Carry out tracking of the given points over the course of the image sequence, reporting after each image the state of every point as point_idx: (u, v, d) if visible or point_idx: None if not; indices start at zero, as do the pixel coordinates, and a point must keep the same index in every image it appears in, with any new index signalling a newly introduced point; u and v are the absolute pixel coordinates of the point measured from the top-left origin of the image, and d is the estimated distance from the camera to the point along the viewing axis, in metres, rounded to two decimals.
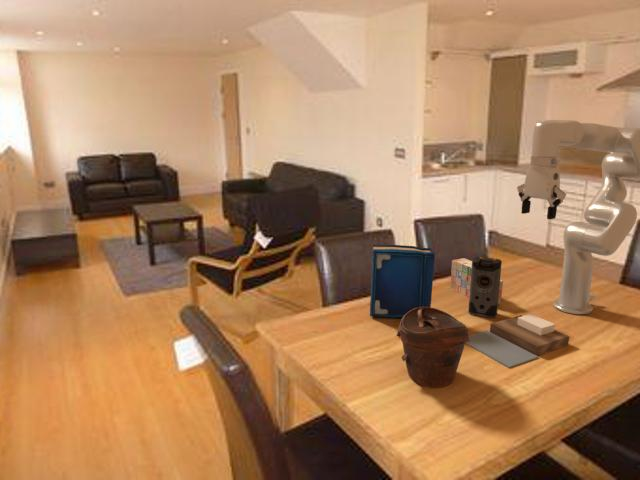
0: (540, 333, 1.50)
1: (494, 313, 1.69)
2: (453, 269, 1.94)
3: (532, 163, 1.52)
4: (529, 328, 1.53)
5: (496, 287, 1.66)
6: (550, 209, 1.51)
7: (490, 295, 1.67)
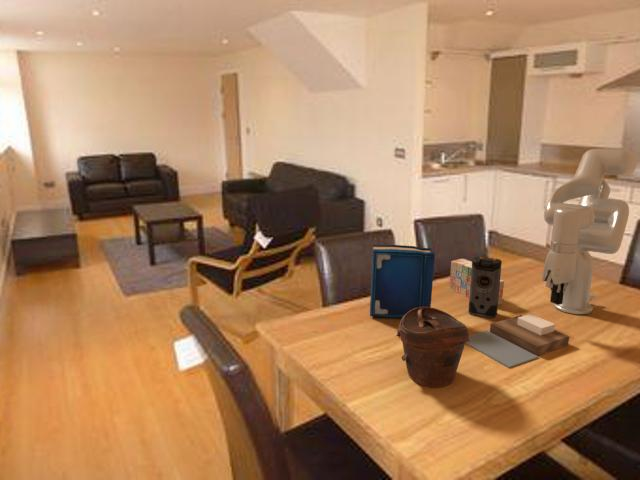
0: (540, 333, 1.50)
1: (494, 313, 1.69)
2: (452, 270, 1.94)
3: (570, 251, 1.49)
4: (529, 328, 1.53)
5: (496, 287, 1.66)
6: None
7: (490, 295, 1.67)
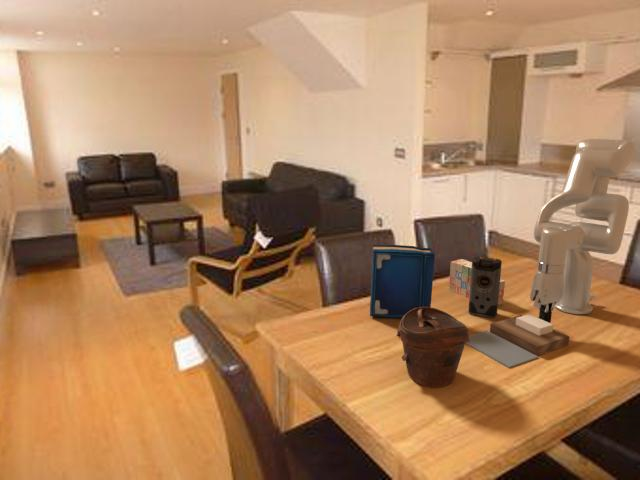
0: (538, 333, 1.50)
1: (494, 313, 1.69)
2: (452, 270, 1.93)
3: (558, 272, 1.48)
4: (527, 328, 1.53)
5: (496, 287, 1.66)
6: None
7: (490, 295, 1.67)
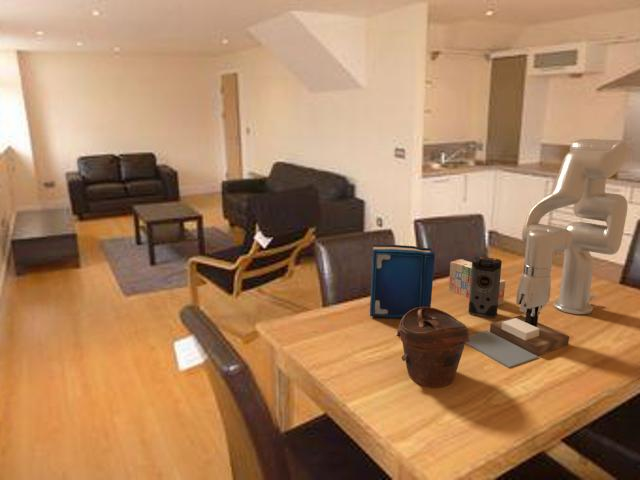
0: (524, 338, 1.47)
1: (494, 313, 1.69)
2: (452, 271, 1.92)
3: (544, 275, 1.45)
4: (513, 333, 1.50)
5: (496, 287, 1.66)
6: None
7: (490, 295, 1.67)
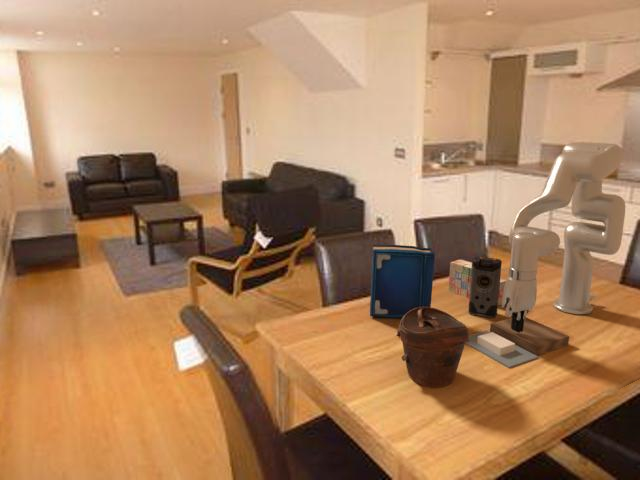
0: None
1: (494, 313, 1.69)
2: (452, 271, 1.92)
3: (529, 278, 1.43)
4: None
5: (496, 287, 1.66)
6: None
7: (490, 295, 1.67)
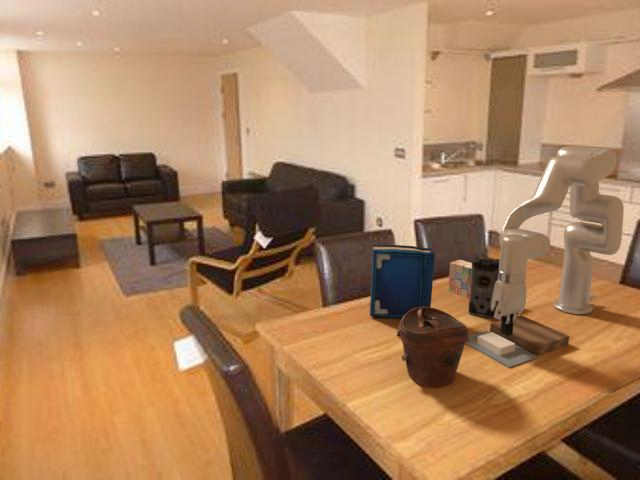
0: None
1: (494, 313, 1.69)
2: (451, 271, 1.92)
3: (518, 282, 1.41)
4: None
5: None
6: None
7: (490, 295, 1.67)
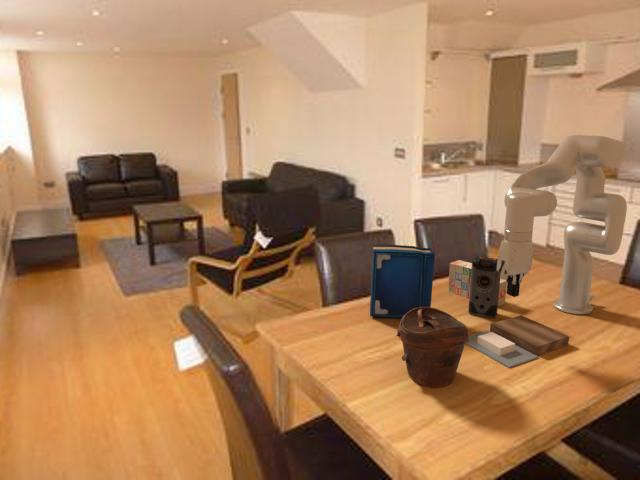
0: None
1: (494, 313, 1.69)
2: (451, 272, 1.91)
3: (524, 240, 1.38)
4: None
5: (496, 287, 1.66)
6: None
7: (490, 295, 1.67)
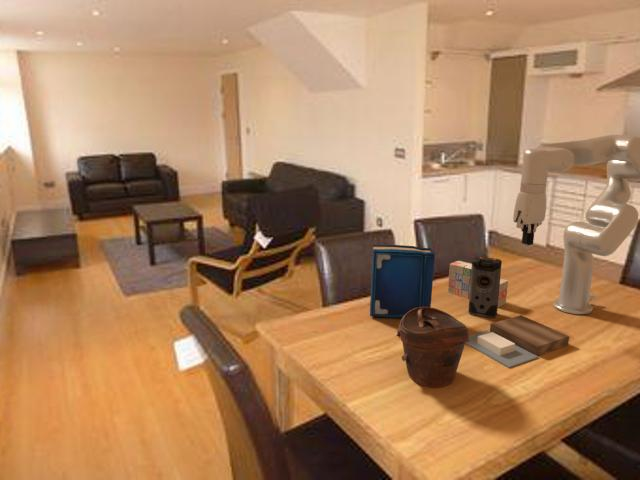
0: None
1: (494, 313, 1.69)
2: (451, 273, 1.90)
3: (539, 191, 1.52)
4: None
5: (496, 287, 1.66)
6: None
7: (490, 295, 1.67)
